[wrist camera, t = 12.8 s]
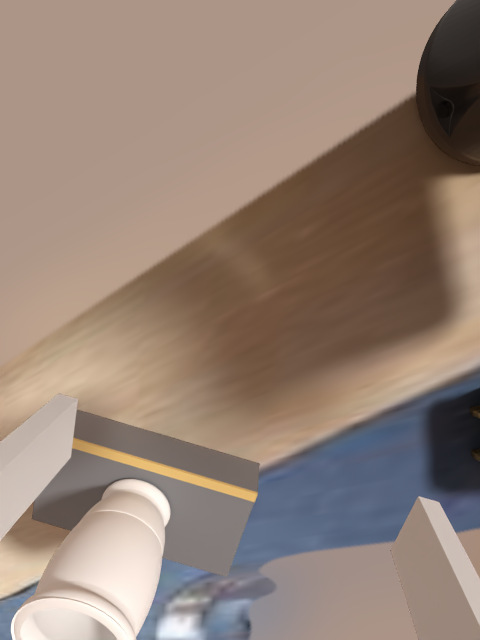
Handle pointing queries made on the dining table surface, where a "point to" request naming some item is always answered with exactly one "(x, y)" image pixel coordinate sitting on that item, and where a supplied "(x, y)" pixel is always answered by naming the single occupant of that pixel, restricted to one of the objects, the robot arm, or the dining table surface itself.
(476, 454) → the wicker basket
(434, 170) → the dining table surface
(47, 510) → the dock
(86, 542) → the jar
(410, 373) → the dining table surface
